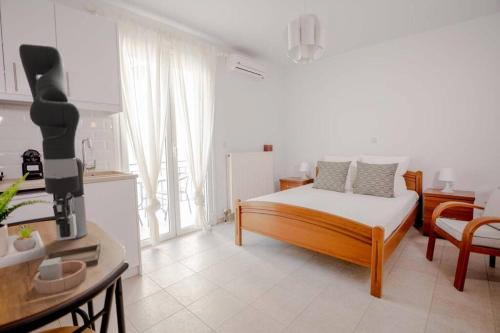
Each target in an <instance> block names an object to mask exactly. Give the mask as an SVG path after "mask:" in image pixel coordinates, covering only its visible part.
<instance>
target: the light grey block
mask: <svg viewBox="0 0 500 333" xmlns="http://www.w3.org/2000/svg"><path fill="white" fill-rule="evenodd" d="M43 260H44V259H43ZM43 260H42V261H43ZM41 263H42V264H41ZM41 263H40V264H41V265H40V264H39V266H40V274H41V280H47V281H52V280H56V279H61V278H62V277H63V273H62V263H61V257H59V258H54V259H48V260H44V261H43V262H41Z"/></svg>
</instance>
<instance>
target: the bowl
mask: <svg viewBox="0 0 500 333" xmlns="http://www.w3.org/2000/svg"><path fill="white" fill-rule="evenodd" d="M61 263H62V273H63V277H62V278H61V279H56V280H52V281H47V280H41V274H40V272H38V273H37V274H36V273H35V276H34V277H33V283H34V290H35V291H36V292H37V293H39V294H54V293H55V294H56V293H58V292H63V291H66V290H68V289H70V288H71V289H72V288H73V287H76V286H78V285H79V284H80V283H82V281H85V279H86V278H87V276H88V275H87V273H88V271H87V266H86V263H85V262H83V261H74V260H71V261H66V262H61Z"/></svg>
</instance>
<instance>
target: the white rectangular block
mask: <svg viewBox="0 0 500 333" xmlns="http://www.w3.org/2000/svg"><path fill="white" fill-rule="evenodd" d="M69 217H70V234H71V235H70V236H69V237H64V238H61V237H60V227H59V225H57V224H56V219H55V231H56V241H57V242H58V241H63V240H64V241H65V240H66V239H68V240H73V239H72V238H75V237H76V234H77V228H76V216H75V214H71V215H70V216H69ZM62 219H65V218H64V217H61V220H62ZM75 239H76V238H75Z"/></svg>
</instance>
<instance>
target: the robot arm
mask: <svg viewBox="0 0 500 333" xmlns="http://www.w3.org/2000/svg"><path fill="white" fill-rule="evenodd" d="M18 51H19V53H18V54H19V57H20V61H21V65H22V67H23V71H24V75H25V78H26V80H27V82H28V87H29V89H30V93H31V96H32V101H33V102H32V103H31V105H30V108H29V117H30V120H31V122H32V123H33V124H34V125H35V126H37V127H39V129H40V133H41V136H42V142H41V143H42V155H43V168H42V169H43V175H44V177H43V179H44V186H45V189H44V190H45V193H46V194H48V195H55V199H54V200H53V205H52V209H53V214H54V218H55V219H56V223H55V225H56V224H57V225H59V227H60V237H61V238H64V237H69V236H70V235H71V234H70V217H69V216H70V215H71V214H75V216H76V228H77V234H76V237H75V238H72V239H71V240H74V239H79V238H81V237H84V236H86V235H87V234H88V227H87V226H88V224H87V215H86V214H87V212H86V203H85V201H86V200H85V192H84V168H83V167H84V166H83V161H82V160H81V159H80V158H78V157H76V149H75V148H76V147H75V144H76V143H75V140H76V133H77V129H78V125H79V121H80V118H81V117H80V116H81V114H80V110H79V108H78V107H77V106H76V105H75V104H74V103H72V102H69V99H68V94H67V91H66V90H67V89H66V87H65V85H66V84H65V82H66V81H65V80H66V74H65V73H66V69H65V63H64V62H65V61H64V57H63V55H62V53H61V52H62V51H60V50H59V49H58V47H57V48H56V47H55V46H49V45H38V44H37V45H36V44H26V43H22V44H20V46H19V49H18ZM61 217H64V218H65V219H62V220H61ZM66 240H69V239H66Z"/></svg>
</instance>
